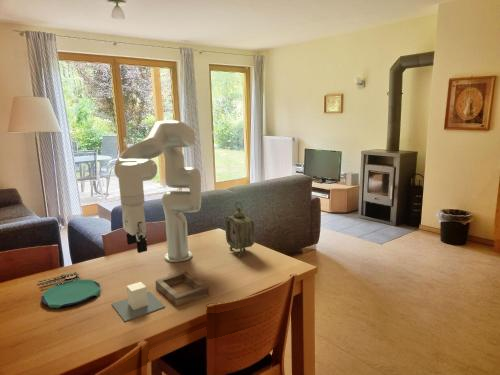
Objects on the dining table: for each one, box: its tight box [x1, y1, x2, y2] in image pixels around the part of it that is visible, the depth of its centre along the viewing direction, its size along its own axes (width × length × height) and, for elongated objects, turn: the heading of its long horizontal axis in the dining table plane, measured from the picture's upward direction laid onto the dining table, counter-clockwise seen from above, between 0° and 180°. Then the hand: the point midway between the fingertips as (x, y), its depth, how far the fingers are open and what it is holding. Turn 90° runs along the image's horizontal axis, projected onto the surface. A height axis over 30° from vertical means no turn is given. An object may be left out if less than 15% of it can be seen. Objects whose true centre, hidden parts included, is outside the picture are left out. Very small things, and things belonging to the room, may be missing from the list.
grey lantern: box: [224, 201, 256, 258], centre depth 170 cm, size 14×9×25 cm, turn 27°
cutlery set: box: [37, 271, 102, 309], centre depth 138 cm, size 20×30×2 cm, turn 39°
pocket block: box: [155, 270, 210, 307], centre depth 136 cm, size 18×13×3 cm
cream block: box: [126, 281, 148, 310], centre depth 125 cm, size 5×5×7 cm
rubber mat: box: [111, 291, 166, 323], centre depth 126 cm, size 14×14×1 cm
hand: (137, 247), depth 123 cm, fingers open, 9 cm apart
